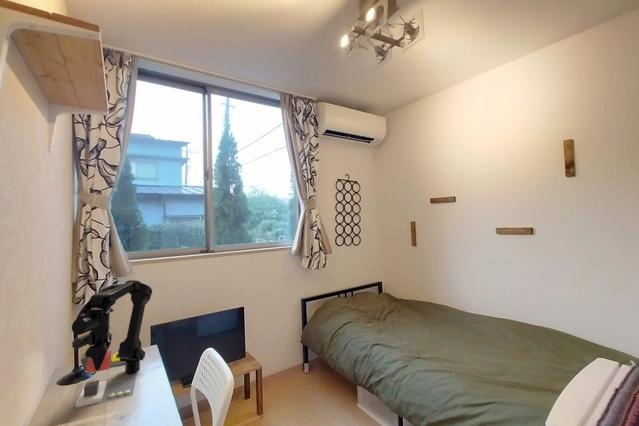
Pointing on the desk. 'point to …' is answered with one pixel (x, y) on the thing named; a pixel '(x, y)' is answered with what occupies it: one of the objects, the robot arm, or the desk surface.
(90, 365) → the red block
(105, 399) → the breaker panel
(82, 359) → the electrical switch
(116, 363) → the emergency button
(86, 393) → the grey cube
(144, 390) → the desk surface
